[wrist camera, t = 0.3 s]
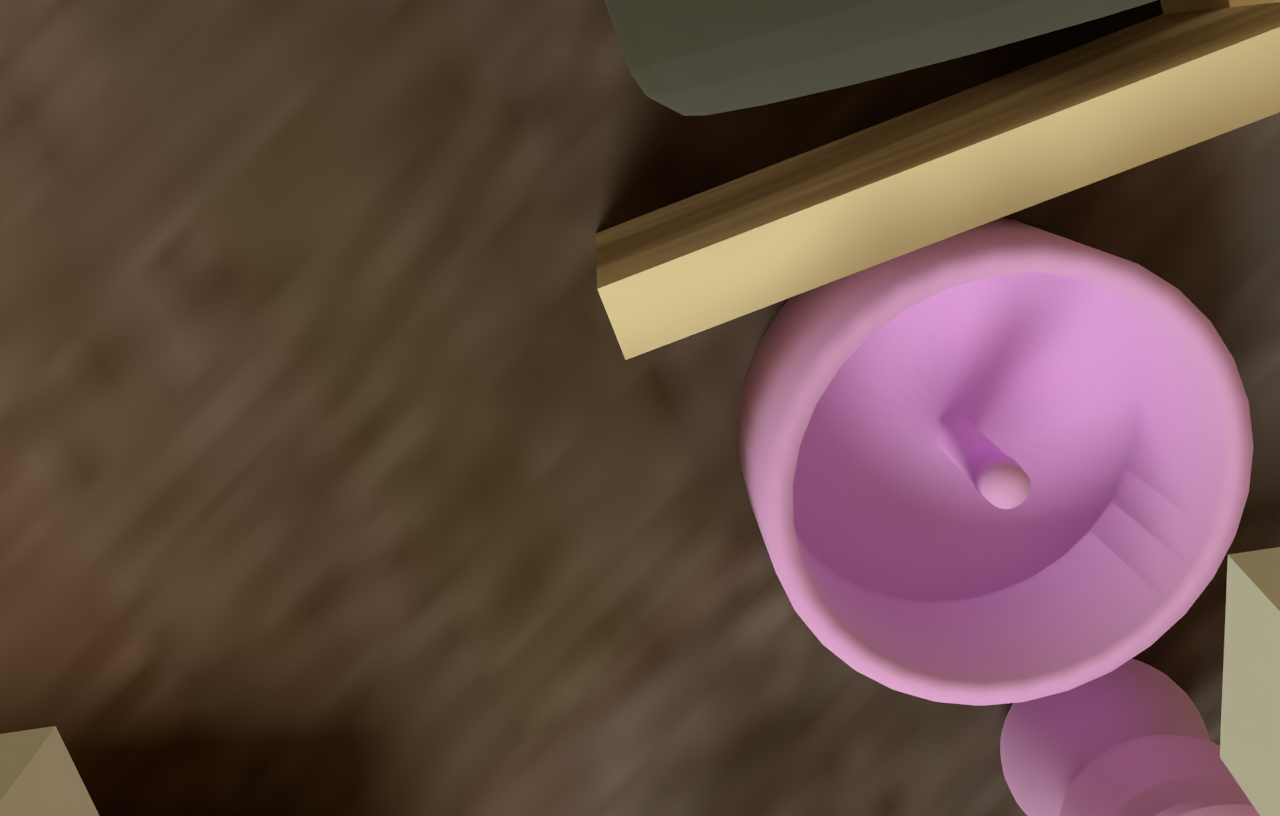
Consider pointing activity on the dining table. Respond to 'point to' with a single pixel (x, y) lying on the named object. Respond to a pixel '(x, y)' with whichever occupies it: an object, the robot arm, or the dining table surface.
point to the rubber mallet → (814, 42)
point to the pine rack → (941, 170)
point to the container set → (1010, 500)
